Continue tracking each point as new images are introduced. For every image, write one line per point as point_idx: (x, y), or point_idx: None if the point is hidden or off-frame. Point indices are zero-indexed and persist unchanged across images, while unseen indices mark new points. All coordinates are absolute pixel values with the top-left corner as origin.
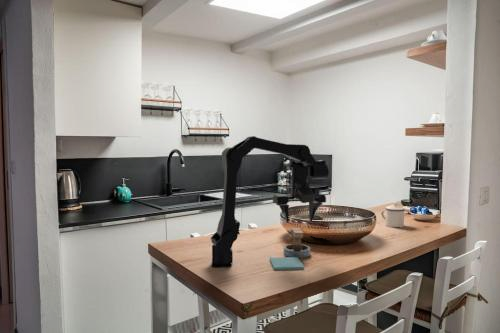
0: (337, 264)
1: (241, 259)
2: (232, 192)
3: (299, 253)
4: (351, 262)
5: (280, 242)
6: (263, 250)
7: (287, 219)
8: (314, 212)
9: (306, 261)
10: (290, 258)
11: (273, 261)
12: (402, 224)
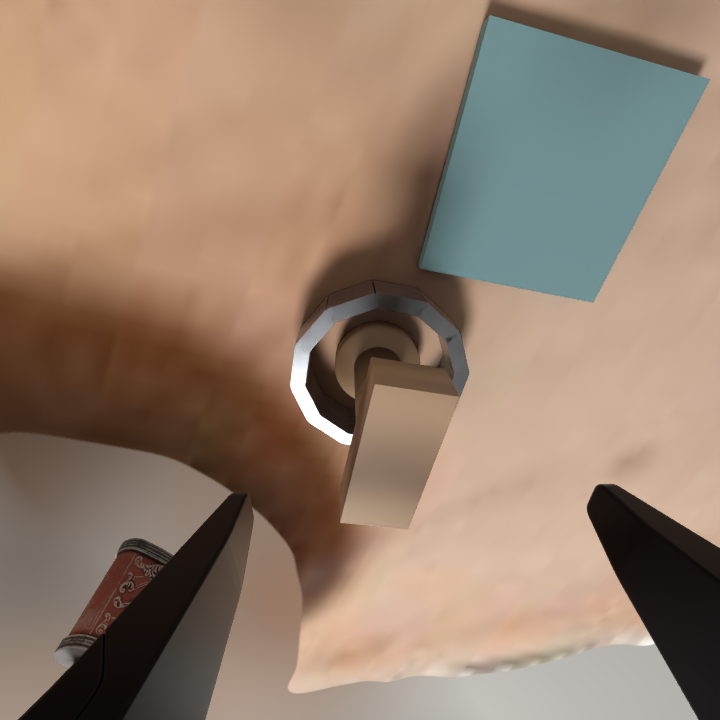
0: (172, 62)
1: (714, 348)
2: None
3: (400, 293)
4: (38, 78)
5: (375, 532)
6: (517, 450)
7: (662, 523)
8: (110, 648)
9: (379, 209)
10: (479, 254)
11: (618, 224)
12: None
